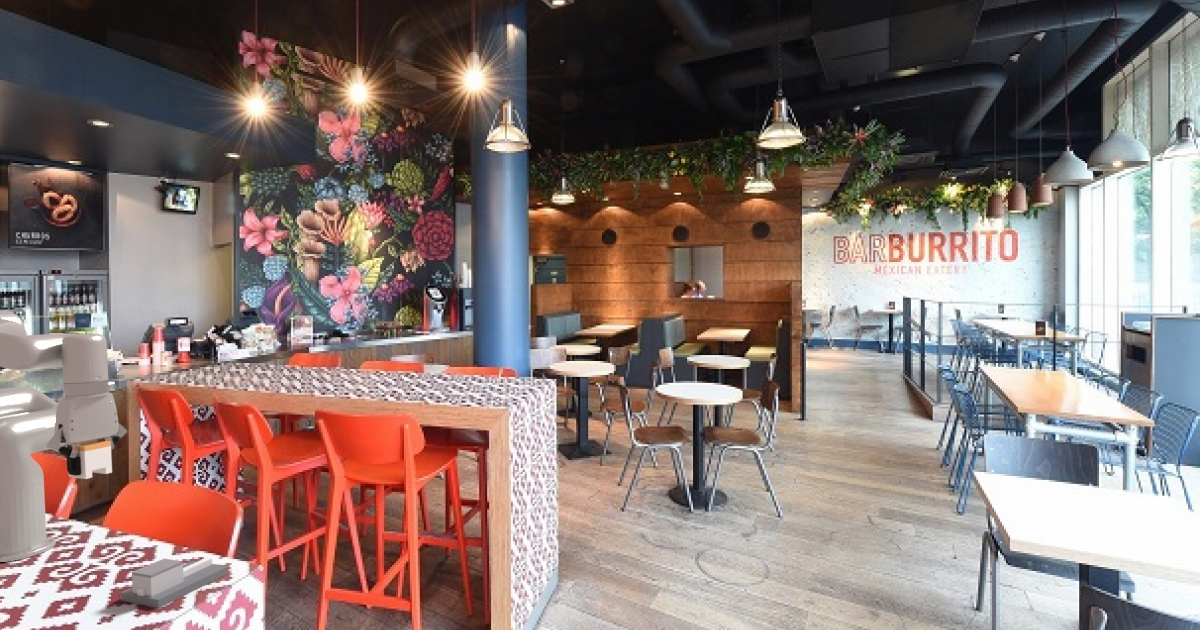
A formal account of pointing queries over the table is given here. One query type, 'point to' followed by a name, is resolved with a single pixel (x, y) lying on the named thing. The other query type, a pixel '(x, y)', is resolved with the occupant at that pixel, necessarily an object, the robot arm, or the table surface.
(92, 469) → the block
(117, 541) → the table surface
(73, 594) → the table surface
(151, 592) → the rail board
